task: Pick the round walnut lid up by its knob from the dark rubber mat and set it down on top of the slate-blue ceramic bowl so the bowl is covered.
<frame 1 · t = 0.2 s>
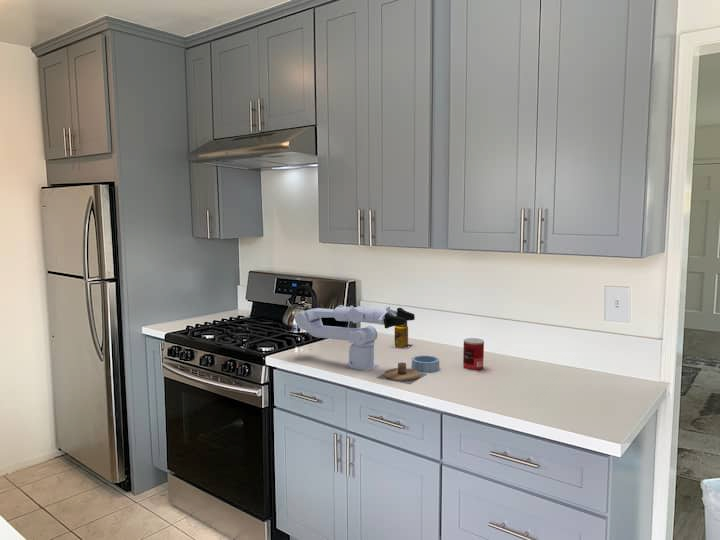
hand: (409, 319, 201), 21 cm above the worktop, tool horizontal, fingers open, 7 cm apart
canned food: (473, 368, 213), on the worktop
lid: (402, 375, 202), resting on mat
mat: (401, 376, 202), on the worktop
bowl: (425, 369, 212), on the worktop
condiment: (402, 346, 247), on the worktop
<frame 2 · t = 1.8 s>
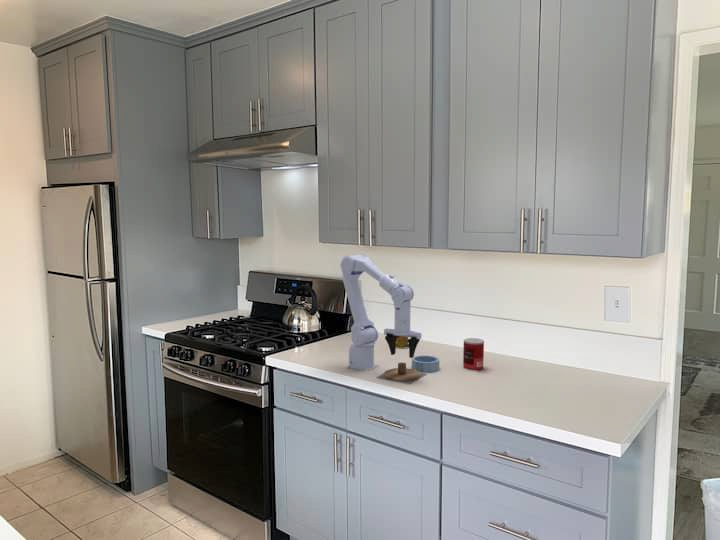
hand: (402, 355, 201), 8 cm above the worktop, tool pointing down, fingers open, 7 cm apart
nothing on the worktop moved.
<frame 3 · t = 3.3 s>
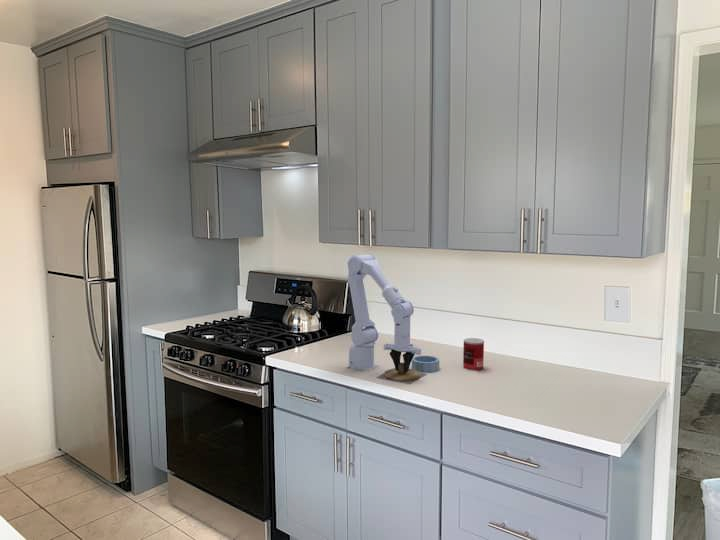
hand: (402, 371, 202), 2 cm above the worktop, tool pointing down, fingers closed on lid, 3 cm apart
lid: (401, 375, 202), resting on mat, touching gripper
everything else where it was.
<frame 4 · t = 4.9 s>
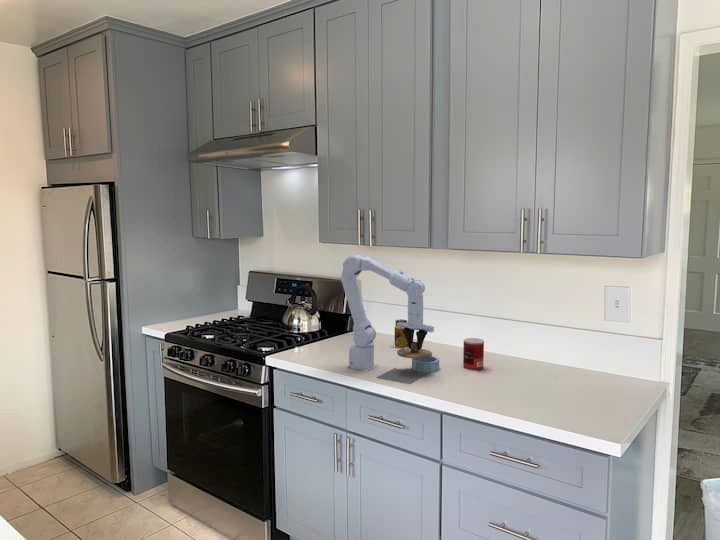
hand: (415, 348, 206), 9 cm above the worktop, tool pointing down, fingers closed on lid, 3 cm apart
lid: (414, 354, 206), point 7 cm above the worktop, touching gripper
everything else where it was.
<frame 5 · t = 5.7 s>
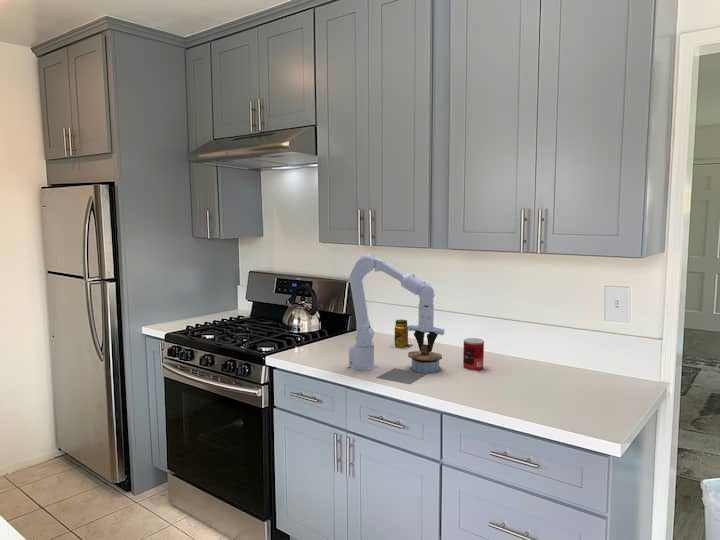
hand: (425, 350, 211), 7 cm above the worktop, tool pointing down, fingers closed on lid, 3 cm apart
lid: (424, 356, 210), point 5 cm above the worktop, touching gripper
everything else where it was.
when the fingers open (7 cm above the worktop, at t = 6.4 s): lid stays where it is, resting on bowl.
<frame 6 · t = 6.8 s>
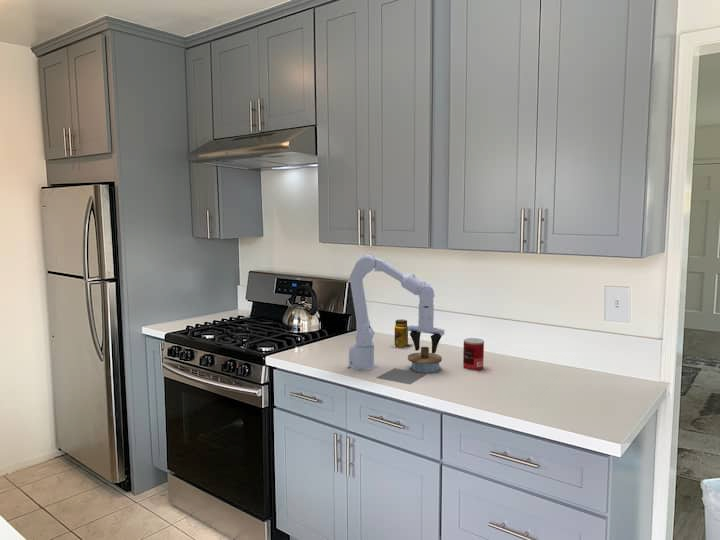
hand: (425, 351, 211), 7 cm above the worktop, tool pointing down, fingers open, 6 cm apart
lid: (424, 359, 211), point 4 cm above the worktop, touching bowl
bowl: (425, 369, 212), on the worktop, touching lid
everything else where it was.
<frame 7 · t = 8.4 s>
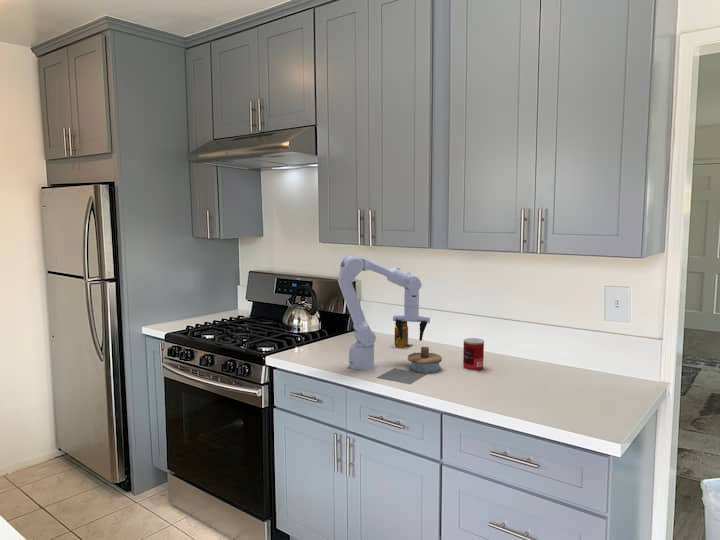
hand: (411, 339, 218), 10 cm above the worktop, tool pointing down, fingers open, 7 cm apart
nothing on the worktop moved.
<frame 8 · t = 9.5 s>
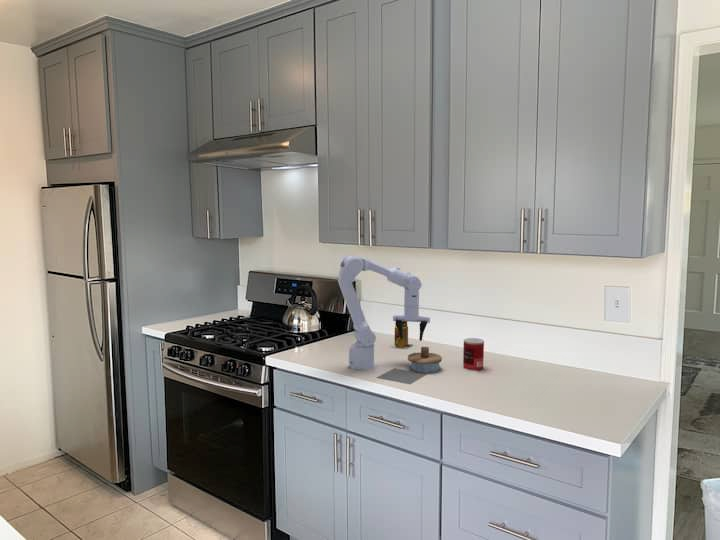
hand: (411, 339, 218), 10 cm above the worktop, tool pointing down, fingers open, 7 cm apart
nothing on the worktop moved.
at the end: lid 0.6 cm off-centre on the bowl, point 4.0 cm above the bowl's base; lid tilted 0°; the gripper is holding nothing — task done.
